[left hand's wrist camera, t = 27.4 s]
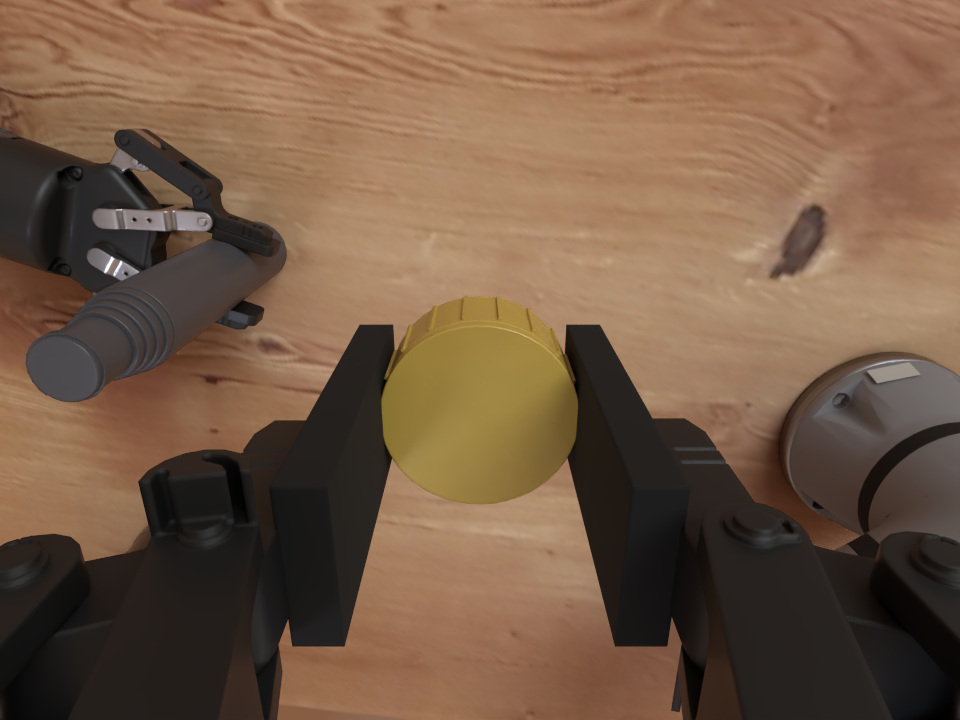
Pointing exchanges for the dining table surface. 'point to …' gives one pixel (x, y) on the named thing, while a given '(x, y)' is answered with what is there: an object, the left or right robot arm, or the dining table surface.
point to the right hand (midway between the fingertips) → (266, 283)
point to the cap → (479, 402)
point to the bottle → (147, 318)
